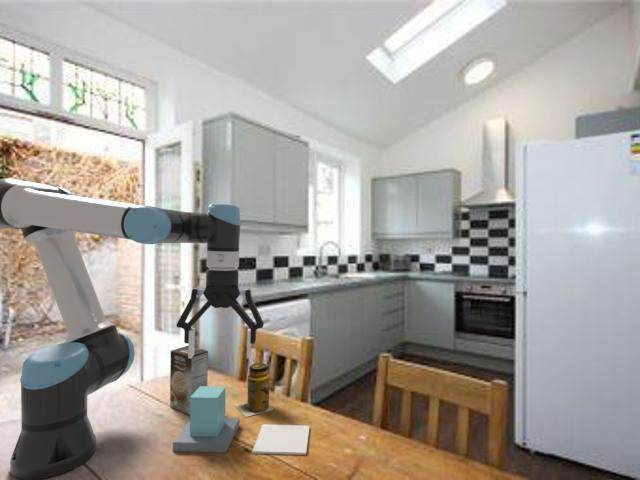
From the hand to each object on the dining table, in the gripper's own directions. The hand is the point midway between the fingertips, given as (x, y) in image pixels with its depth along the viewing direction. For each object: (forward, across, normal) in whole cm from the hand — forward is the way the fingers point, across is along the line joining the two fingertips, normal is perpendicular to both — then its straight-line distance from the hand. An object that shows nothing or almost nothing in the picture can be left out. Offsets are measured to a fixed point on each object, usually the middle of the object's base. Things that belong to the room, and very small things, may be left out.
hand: (220, 356), depth 90 cm
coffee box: (+20, -11, +17) cm, 28 cm away
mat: (+19, +16, -3) cm, 25 cm away
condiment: (+19, +8, +14) cm, 25 cm away
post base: (+19, -2, 0) cm, 19 cm away
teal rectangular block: (+17, -2, 0) cm, 17 cm away
